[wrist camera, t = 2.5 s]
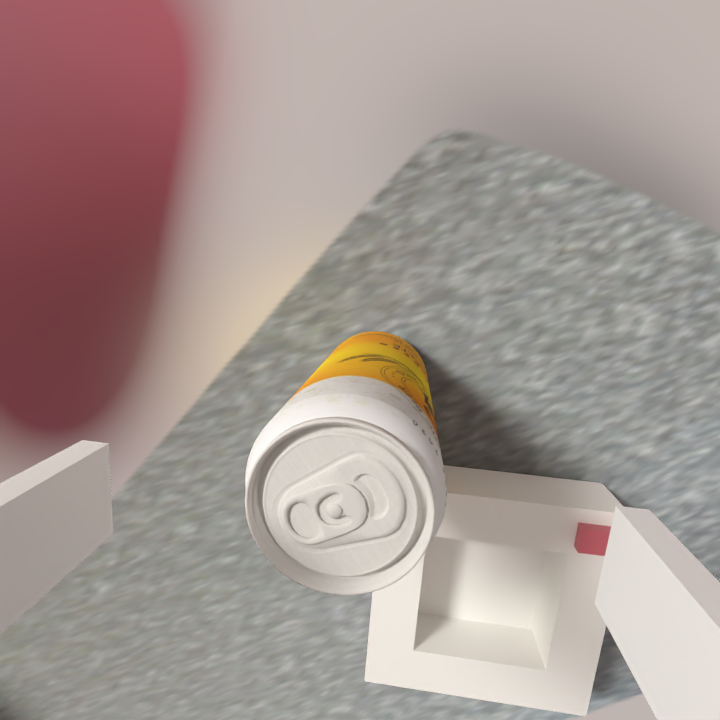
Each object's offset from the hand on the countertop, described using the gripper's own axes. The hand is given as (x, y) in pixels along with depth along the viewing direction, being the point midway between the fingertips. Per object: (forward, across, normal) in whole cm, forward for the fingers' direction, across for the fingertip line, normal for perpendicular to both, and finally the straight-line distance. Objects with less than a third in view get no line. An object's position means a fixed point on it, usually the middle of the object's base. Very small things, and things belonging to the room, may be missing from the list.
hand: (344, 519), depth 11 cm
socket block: (+16, +7, -12) cm, 21 cm away
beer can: (+16, 0, 0) cm, 16 cm away
